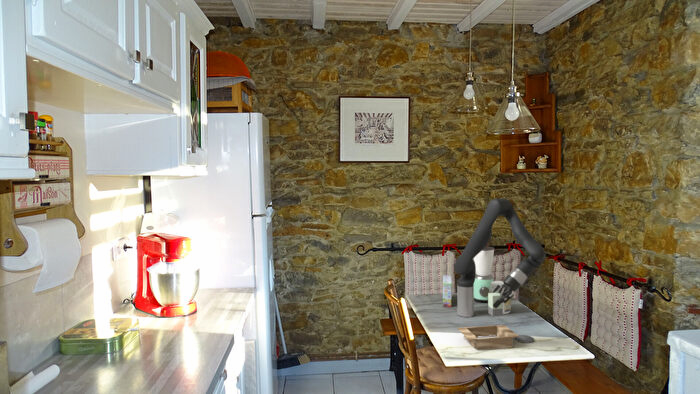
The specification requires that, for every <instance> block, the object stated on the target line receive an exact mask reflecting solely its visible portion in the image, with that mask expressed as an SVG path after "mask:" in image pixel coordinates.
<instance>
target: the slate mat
mask: <svg viewBox="0 0 700 394" xmlns="http://www.w3.org/2000/svg"><path fill="white" fill-rule="evenodd" d="M517 335H518V336H520V337H514V339H513V340H515V341H516V340H517V342H519V343H524V344H530V343H531V342H532V343H533V341H534V342H535V338H534V337H532V336H530V335H526V334H517Z"/></svg>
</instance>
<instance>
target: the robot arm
mask: <svg viewBox="0 0 700 394" xmlns="http://www.w3.org/2000/svg"><path fill="white" fill-rule="evenodd" d="M501 216H502V217H504V218H505V219H506V220H507V222H508V223H509V225H510V228H511V232H512V234H513V236H514V238H515V239H516V241H517V242H518V243H519V245H520V246H521V247H522V248H524V249H525V250H526V252H527V253H528V257H526V259H525V260H522V261H520V262H519V263H518V264H517V266H515V267H514V269H512V270H511V271H510V273H508V274H507V276H505V278H504V279H503V283H504V284H503V285H502V286H499V285H497V286H496V288H495V289H494V291H493V292H492V293H495V292H496V293H500V297H499V299H498V300H497V301H496V302H495V303H494V304H493V306H494V307H495V308H497V307H498V306H499V305H500V304H501V303H506V302H507V301H508V300H510V299H512V298H514V296H515V295H514V293H515V292H517V290H519V288H520V287H522V285H523V284H524V283H525V282H526V281H527V279H528V278H529V276H531V275H532V273H533V272H534V271H535V270H537V268H539V267H540V266H541V265H542V264H543V263H544V262H545V260H546V250H545V249H544V248H543V246H542V245H541V244H540V243H539V241H537V240H536V239H535V238H534V236H533V235H532V234H531V233H530V231H529V230H528V229H527V228H526V226H525V225H524V224H523V222H522V221H521V219H520V217H519V215H518V213H517V211H516V210H515V208H514V206H513V204H512V203H511V202H510V200H509V199H507V198H502V197H501V198H493V199H491V200H490V201H489V202H488V204H487V206H486V208H485V211H484V213H483V215H482V218H481V219H480V221H479V223H478V225H477V227H476V228H475V229H474V231H473V232H472V235H471V237H470V239H469V240H468V242H467V244H466V246H465V247H464V249H463V251H462V252H461V254H460V255H459V256H458V257H457V258H456V260H455V262H454V266H453V267H454V272H455V273H456V274H457V275H460V277H459V278H458V280H457V281H456V286H457V287H456V292H457V294H456V297H457V298H456V299H457V301H456V304H457V306H456V308H457V310H456V315H457V316H460V317H462V318H463V317H464V318H470V317H473V316H475V315H474V314H475V312H474V311H475V302H474V301H475V300H474V282H475V274H476V266H475V262H474V257H475V256H476V255H477V254H479V253H480V252H481V251H482V250H483V249H484V248H485V247H486V246H487V245H488V244H489V242H490V240H491V238H492V235H493V226H494V223H495V221H496V220H497V218H498V217H501ZM513 292H514V293H513Z"/></svg>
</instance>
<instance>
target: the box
mask: <svg viewBox="0 0 700 394" xmlns="http://www.w3.org/2000/svg"><path fill="white" fill-rule="evenodd" d="M499 297H500V293H488V302H487V303H488V305H487V306H488V308H487V312H488V314H489V315H490V316H492V317H503V316H504V314H503V303H501V304H500V305H499V306H498V307H497V308H495V307H494V306H493V304H494V303H495V302H496V301H497V300H498V299H499Z"/></svg>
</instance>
